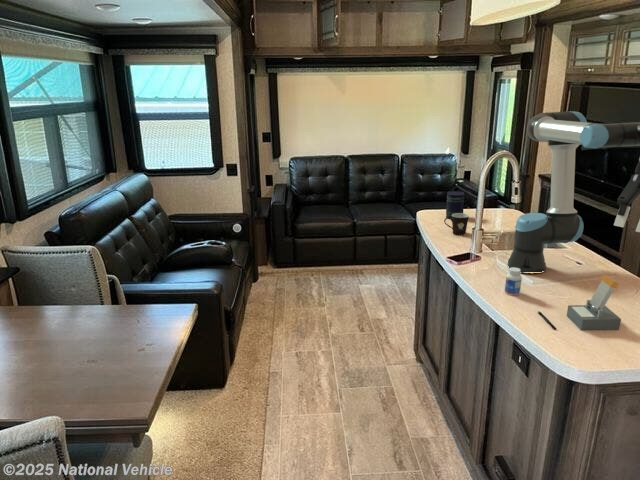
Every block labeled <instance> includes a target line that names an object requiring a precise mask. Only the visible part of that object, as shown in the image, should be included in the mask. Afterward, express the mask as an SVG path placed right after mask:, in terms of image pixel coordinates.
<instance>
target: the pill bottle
mask: <svg viewBox="0 0 640 480" xmlns="http://www.w3.org/2000/svg"><path fill="white" fill-rule="evenodd" d="M520 272H521V270H520V269H519V268H514V267H512V268H508V272H507V274H506V276H505V285H504V293H505V294H507V295H509V296H519V295H520V293H521V286H522V279H523V278H522V274H521V273H520Z"/></svg>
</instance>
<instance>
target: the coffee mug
mask: <svg viewBox="0 0 640 480" xmlns="http://www.w3.org/2000/svg"><path fill="white" fill-rule="evenodd" d="M469 217H470V215H469V214H466V213H464V212H463V213H456V214H452V219H451V218H446V217H445V219H444V224H445V225H446V226H447V227H449V228H450V229H452V234H453V235H454V236H465V235H466V233H467V228H468V227H467V226H468V224H469V223H468V221H469ZM446 220H450V221H451V223H452V226H450V225H449V224H448V223H446Z"/></svg>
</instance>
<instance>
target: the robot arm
mask: <svg viewBox="0 0 640 480" xmlns="http://www.w3.org/2000/svg"><path fill="white" fill-rule="evenodd" d="M526 133H527V135H528V137H529V138H530V139H531V140H533V141H535V142H540V143H541V142H542V143H545V142H546V143H547V147H548V148H549V149H550V150H551V175H550V177H551V179H550V207H549V208H548V209H547V210H546V212H545V213H546V214H545V213H541V212H528V213H523V214H521V215H519V217H518V218H517V219H516V223H515V227H514V229H515V233H514V242H513V250H512V251H511V253H510V256H509V258H508V260H507V265H508V266H509V268H512V267H514V268H519V269H520V270H521V272H542V271H544V270H545V271H546V269H547V263H546V261H545V260H546V259H545V255H544V249H545V245H553V244H568V243H573V242H575V241H578V239H579V238H581V237H582V234H583V232H584V226H585V225H584V221H583V219H582V216H580V215H579V214H578V210H577V209H575V207H574V202H575V201H574V199H575V198H574V197H575V175H576V173H575V172H576V171H575V170H576V150H577V148H578V147H579V146H580V145H581V146H582V147H583V148H586V149H600V148H618V147H636V146H637V147H639V146H640V121H639V122H635V121H634V122H622V123H621V122H620V123H596V122H595V123H594V122H588V121H587V119H586V117H585V116H584V114H583V113H581V112H578V111H570V110H569V111H568V110H567V111H556V112H555V111H554V112H551V111H550V112H541V113H537V114H536V115H534V116H532V117H531V119H529V121H528V123H527V126H526ZM638 161H639V162H637V165H636V167H635V170H634V173H635V174H631V177H630V179H629V181H628V183H627V184H626V185H625V187H624V188H623V190H622V192H621V193H620V194H619V196H618V197H617V200H616V204H617V205H619V209H618V211H617V214H616V217H615V219H614V223H613V226H615V227H618V228H619V227H620V228H624V227H625V225H626V221H627V219H628V217H629V213H630V210H631V206H630V205H631V204H632V203H633V202H634V201H636V199H637V198H638V196H640V157H639V158H638ZM635 232H636V233H640V219H639V220H638V223H637V225H636V227H635ZM508 266H507V267H508ZM509 268H508V269H509Z"/></svg>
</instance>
